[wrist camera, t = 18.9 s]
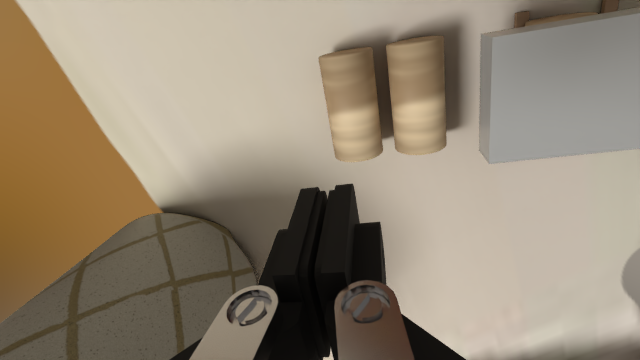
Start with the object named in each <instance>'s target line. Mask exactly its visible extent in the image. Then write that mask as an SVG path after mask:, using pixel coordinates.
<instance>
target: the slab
mask: <svg viewBox="0 0 640 360" xmlns="http://www.w3.org/2000/svg"><path fill="white" fill-rule="evenodd" d="M632 149H640V7H638V8H632V9H626V10H620V11H614V12H608V13H602V14H596V15H590V16H585V17H579V18H573V19H567V20H561V21H555V22H549V23H543V24H537V25H531V26H525V27H519V28H513V29H507V30H501V31H495V32H489V33H484V34H481V52H480V114H479V151H480V152H481V154H482V155H483V157H484V158H485V159H486V161H487V162H488V163H489V164H494V163H504V162H513V161H523V160H533V159H543V158H553V157H563V156H573V155H583V154H592V153H602V152H612V151H622V150H632Z"/></svg>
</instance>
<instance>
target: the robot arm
mask: <svg viewBox="0 0 640 360" xmlns="http://www.w3.org/2000/svg"><path fill="white" fill-rule="evenodd" d="M330 348H331V350H332V354H333V358H334V360H466V359H464V358H463V357H462V356H460V355H459V354H457V353H456V352H455V351H453V350H452V349H450V348H449V347H448V346H446V345H445V344H443V343H442V342H440V341H439V340H438V339H436V338H435V337H433V336H432V335H431V334H429V333H428V332H426V331H425V330H424V329H422V328H421V327H419V326H418V325H416V324H415V323H414V322H412V321H411V320H409V319H408V318H407V317H405V316H404V315H402V314H401V312H400V308H399V305H398V301H397V298H396V296H395V294H394V292H393V291H392V290H391V289H390V288H389V287H388V286H387V285H386V272H385V258H384V248H383V239H382V231H381V224H380V222H373V223H359V216H358V210H357V204H356V197H355V191H354V186H353V184H345V185H336V186H335V190H330V191H329V196H328V200H327V195H326V192H325V191H320V190H319V188H318V187H315V188H305V189H301V190H300V193H299V196H298V199H297V202H296V205H295V208H294V211H293V214H292V217H291V220H290V223H289V226H288V229H283V230H279V231H278V233H277V235H276V238H275V241H274V243H273V246H272V249H271V251H270V254H269V257H268V260H267V262H266V265H265V268H264V270H263V273H262V276H261V278H260V281H259V284H258V285H257V286H250V287H247V288H244V289H242V290H240V291H238V292H236V293H235V294H234V295H232V296H231V297H230V298H229V299H228V300H227V301H226V302H225V304H224V305H223V307H222V308H221V310H220V311H219V313H218V315H217V316H216V318H215V319H214V321H213V323H212V324H211V326H210V327H209V329H208V331H207V332H206V334H205V335H204V337H202V338H201V339H199V340H198V341H196V342H195V343H193V344H192V345H190V346H189V347H187V348H186V349H184V350H183V351H181V352H180V353H178V354H177V355H175V356H174V357H172V358H171V359H169V360H323V357H329V355H330Z"/></svg>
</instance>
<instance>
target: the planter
mask: <svg viewBox="0 0 640 360" xmlns="http://www.w3.org/2000/svg"><path fill="white" fill-rule="evenodd" d="M250 286H257V283H256V277H255V274H254V271H253V268H252V266H251V264H250V262H249V261H248V259H247V257H246V256H245V254H244V253H243V252H242V250H241V249H240V248H239V247H238V245H237V244H236V243H235V241H234V240H233V238H232V235H231V233H230V232H229V231H228V230H227V229H226V228H225V227H223V226H221V225H219V224H216V223H214V222H211V221H208V220H205V219H201V218H197V217H193V216H188V215H182V214H173V213H160V214H159V213H158V214H152V215H147V216H143V217H141V218H138V219H136V220H134V221H133V222H131V223H129V224H127V225H126V226H125V227H123V228H122V229H121V230H119V231H118V232H117V233H115V234H114V235H113V236H112V237H110V238H109V239H108V240H107V241H105V242H104V243H103V244H102V245H100V246H99V247H98V248H97V249H95V250H94V251H93V252H92V253H90V254H89V255H88V256H86V257H85V258H84V259H83V260H81V261H80V262H79V263H78V264H76V265H75V266H74V267H72V268H71V269H70V270H69V271H67V272H66V273H65V274H63V275H62V276H61V277H60V278H58V279H57V280H56V281H55V282H53V283H52V284H50V285H49V286H48V287H47V288H45V289H44V290H43V291H41V292H40V293H39V294H38V295H36V296H35V297H34V298H32V299H31V300H30V301H28V302H27V303H26V304H25V305H24V306H22V307H21V308H20V309H18V310H17V311H16V312H14V313H13V314H12V315H11V316H9V317H8V318H7V319H5V320H4V321H3V322H2V323H0V360H169V359H171V358H172V357H174V356H175V355H177V354H178V353H180V352H181V351H183V350H184V349H186V348H187V347H189V346H190V345H192V344H193V343H195V342H196V341H198V340H199V339H201V338H202V337H204V335H205V334H206V332H207V331H208V329H209V327H210V326H211V324H212V323H213V321H214V319H215V318H216V316H217V315H218V313H219V311H220V310H221V308H222V307H223V305H224V304H225V302H226V301H227V300H228V299H229V298H230V297H231V296H232V295H234V294H235V293H236V292H238V291H240V290H242V289H244V288H247V287H250Z"/></svg>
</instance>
